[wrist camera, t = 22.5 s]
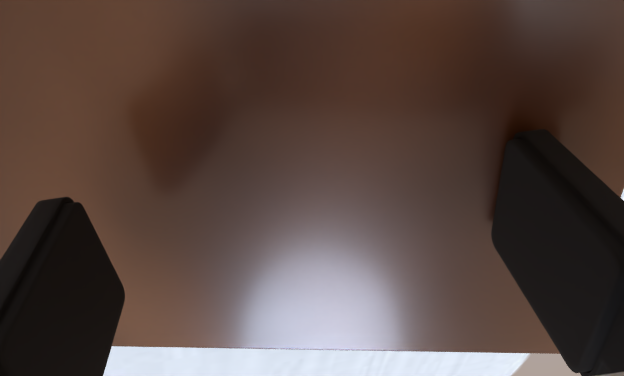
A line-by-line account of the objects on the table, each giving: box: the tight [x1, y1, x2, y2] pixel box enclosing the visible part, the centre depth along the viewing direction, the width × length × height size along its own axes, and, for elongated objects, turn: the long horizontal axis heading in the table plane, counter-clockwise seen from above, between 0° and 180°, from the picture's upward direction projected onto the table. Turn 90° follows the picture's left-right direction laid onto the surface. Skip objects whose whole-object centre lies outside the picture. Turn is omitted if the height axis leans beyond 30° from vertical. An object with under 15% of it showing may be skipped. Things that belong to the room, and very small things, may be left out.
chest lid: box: [0, 0, 624, 354], centre depth 12 cm, size 17×14×1 cm
